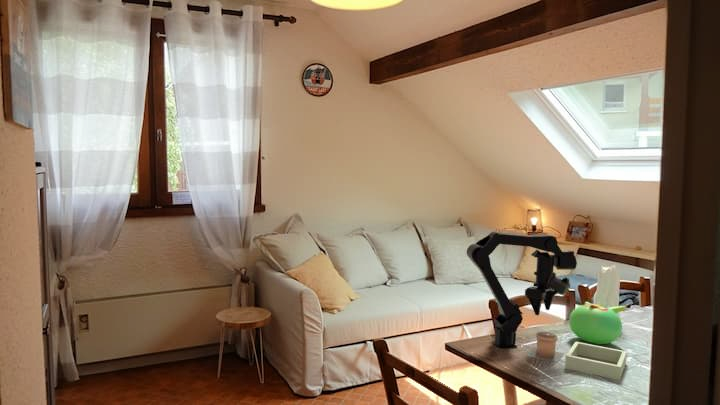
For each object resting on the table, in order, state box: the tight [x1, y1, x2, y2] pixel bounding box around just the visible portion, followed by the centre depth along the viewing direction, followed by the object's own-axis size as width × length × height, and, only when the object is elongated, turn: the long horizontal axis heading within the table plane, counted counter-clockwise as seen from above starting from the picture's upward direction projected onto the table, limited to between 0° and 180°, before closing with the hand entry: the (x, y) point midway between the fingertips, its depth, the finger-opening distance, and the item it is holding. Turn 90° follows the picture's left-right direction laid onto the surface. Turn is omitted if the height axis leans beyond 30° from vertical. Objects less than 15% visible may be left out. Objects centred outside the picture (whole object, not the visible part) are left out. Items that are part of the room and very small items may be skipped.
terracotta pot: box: [535, 331, 558, 358], centre depth 187 cm, size 7×7×7 cm
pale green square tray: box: [564, 341, 628, 381], centre depth 179 cm, size 16×16×4 cm
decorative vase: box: [592, 264, 621, 319], centre depth 224 cm, size 11×11×25 cm
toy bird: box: [568, 301, 627, 345], centre depth 202 cm, size 18×17×15 cm
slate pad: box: [526, 347, 565, 364], centre depth 187 cm, size 10×10×1 cm
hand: (542, 312), depth 197 cm, fingers open, 9 cm apart
